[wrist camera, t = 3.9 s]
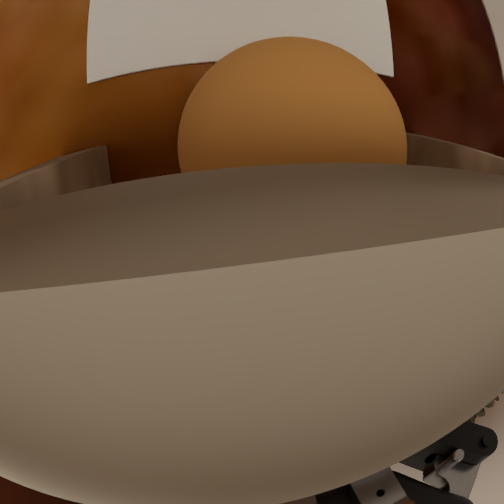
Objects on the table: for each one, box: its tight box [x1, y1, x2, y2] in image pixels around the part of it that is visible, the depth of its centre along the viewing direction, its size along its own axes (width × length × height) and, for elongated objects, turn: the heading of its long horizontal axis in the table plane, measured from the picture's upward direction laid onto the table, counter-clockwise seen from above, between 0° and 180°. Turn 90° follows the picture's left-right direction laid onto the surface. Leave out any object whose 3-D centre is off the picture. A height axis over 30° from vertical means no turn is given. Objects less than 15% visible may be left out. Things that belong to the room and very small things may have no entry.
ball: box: [178, 36, 407, 173], centre depth 7 cm, size 6×6×6 cm
